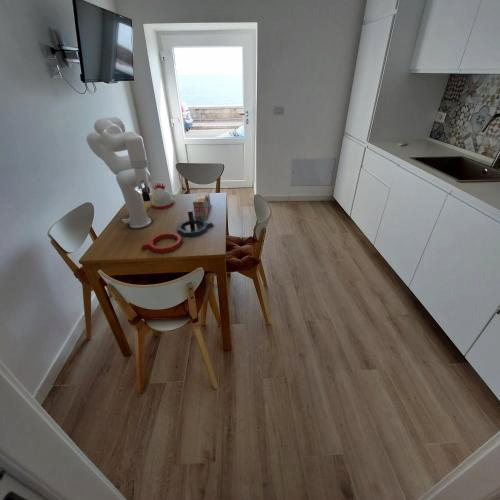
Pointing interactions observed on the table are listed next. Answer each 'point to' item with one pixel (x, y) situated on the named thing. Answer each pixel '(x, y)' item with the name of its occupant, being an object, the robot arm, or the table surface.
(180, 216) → the table surface
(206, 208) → the stack of blocks
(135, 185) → the robot arm
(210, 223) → the slate ring
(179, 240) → the red ring
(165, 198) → the white rounded dome
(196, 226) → the ring peg
